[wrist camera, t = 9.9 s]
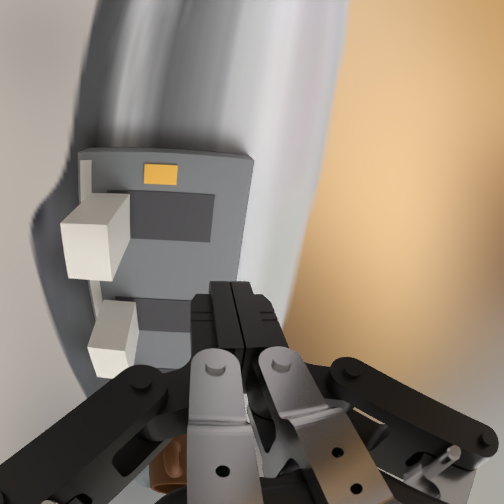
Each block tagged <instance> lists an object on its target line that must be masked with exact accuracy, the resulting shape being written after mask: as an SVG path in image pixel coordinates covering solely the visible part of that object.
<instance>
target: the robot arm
mask: <svg viewBox="0 0 504 504" xmlns="http://www.w3.org/2000/svg"><path fill="white" fill-rule="evenodd" d="M190 342H191V358H190V360H189V361H188V363H187V364H186V365H185V366H183V367H182V368H180V369H177V370H174V371H171V372H167V373H162V372H161V371H160V370H158V369H157V368H155V367H152V366H149V365H133V366H130V367H128V368H126V369H125V370H123V371H122V372H121V373H119V374H118V375H117V376H116V377H114V378H113V379H112V380H110V381H109V382H108V383H107V384H105V385H104V386H103V387H102V388H100V389H99V390H98V391H96V392H95V393H94V394H93V395H91V396H90V397H89V398H87V399H86V400H85V401H84V402H82V403H81V404H80V405H78V406H77V407H76V408H75V409H73V410H72V411H71V412H69V413H68V414H67V415H65V417H63V418H62V419H60V420H59V421H58V422H56V423H55V424H54V425H52V426H51V427H50V428H49V429H47V430H46V431H45V432H43V433H42V434H41V435H40V436H38V437H37V438H35V439H34V440H33V441H31V442H30V443H29V444H27V445H26V446H25V447H24V448H22V449H21V450H20V451H18V452H17V453H16V454H14V455H13V456H12V457H10V458H9V459H8V460H6V461H5V462H4V463H2V464H1V465H0V504H108V503H109V502H110V501H111V500H112V499H113V498H114V497H115V496H117V495H118V494H119V493H120V492H121V491H122V490H123V489H124V488H125V487H126V486H127V485H128V484H129V483H130V482H131V481H132V480H133V479H134V478H135V477H136V476H137V475H138V474H139V473H140V472H141V471H142V470H143V469H144V468H145V467H146V466H147V465H148V464H149V463H150V462H151V461H152V460H153V459H154V458H155V457H156V456H157V455H158V454H159V453H160V452H161V451H162V450H163V449H164V448H165V447H166V445H167V444H168V443H169V442H170V441H171V440H172V438H174V437H177V436H181V435H184V434H187V486H184V487H181V488H178V489H176V490H174V491H172V492H170V493H168V494H166V495H165V496H163V497H162V498H161V499H160V500H158V501H157V502H156V503H155V504H467V501H468V498H469V494H470V491H471V488H472V484H473V481H474V477H475V473H476V470H477V468H478V467H479V466H481V465H482V464H483V463H485V462H486V461H487V460H488V459H490V458H491V457H492V456H493V455H494V454H495V453H496V452H497V450H498V445H499V442H498V437H497V435H496V433H495V432H494V430H493V429H492V428H490V427H489V426H487V425H485V424H483V423H481V422H479V421H477V420H474V419H472V418H470V417H468V416H466V415H464V414H462V413H460V412H457V411H456V410H454V409H452V408H449V407H447V406H446V405H443V404H442V403H440V402H437V401H435V400H434V399H431V398H430V397H427V396H426V395H423V394H422V393H420V392H418V391H416V390H414V389H412V388H410V387H408V386H406V385H404V384H402V383H400V382H398V381H397V380H395V379H393V378H391V377H389V376H387V375H386V374H383V373H382V372H380V371H378V370H376V369H374V368H373V367H371V366H368V365H367V364H365V363H363V362H362V361H360V360H357V359H355V358H351V357H342V358H338V359H336V360H335V361H334V362H333V363H332V365H331V367H326V366H318V365H313V364H308V363H305V362H304V361H303V359H302V358H301V356H300V355H299V354H298V353H297V352H295V351H294V350H292V349H289V347H288V344H287V342H286V339H285V337H284V334H283V332H282V329H281V327H280V324H279V322H278V321H277V317H276V314H275V313H274V309H273V307H272V304H271V302H270V301H269V300H268V299H267V298H266V297H265V296H263V295H262V294H253V291H252V288H251V285H250V282H245V281H230V282H229V281H210V282H209V293H208V294H195V296H194V297H193V299H192V300H191V306H190ZM245 393H247V397H248V401H249V402H248V406H247V414H248V417H249V420H250V423H251V424H250V423H248V422H247V419H246V412H245V404H244V395H243V394H245ZM354 407H356V408H357V409H359V410H361V411H363V412H365V413H367V414H368V415H370V416H372V417H373V418H375V419H377V420H379V421H381V422H383V423H385V424H379V423H376V422H375V421H373V420H371V419H369V418H367V417H365V416H364V415H362V414H360V413H358V412H357V411H355V410H353V408H354ZM252 429H253V430H252ZM253 432H254V435H255V439H256V441H257V444H258V447H259V450H260V453H261V457H262V470H263V475H264V477H259V472H258V464H257V457H256V450H255V444H254V436H253ZM377 467H379V468H380V469H383V470H385V471H386V472H389V473H391V474H393V475H395V476H397V477H399V478H401V479H403V480H404V481H403V482H401V481H400V480H398V479H396V478H394V477H392V476H390V475H388V474H386V473H385V472H383V471H380V470H379V469H378V468H377Z"/></svg>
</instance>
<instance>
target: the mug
mask: <svg viewBox="0 0 504 504" xmlns="http://www.w3.org/2000/svg"><path fill="white" fill-rule="evenodd" d="M149 478H150V486H151V488H152V490H154V491H156V492H159V493H163V494H168V493H170V492H172V491H174V490H176V489H178V488H181V487H184V486H187V434H184V435H181V436H177V437H174V438H172V440H171V441H170V442H169V443H168V444H167V445H166V447H165V448H164V449H163V450H162V451H161V452H160V453H159V454H158V455H157V456H156V457H155V458H154V459H153V460H152V461H151V462H150V463H149Z"/></svg>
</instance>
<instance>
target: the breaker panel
mask: <svg viewBox="0 0 504 504" xmlns="http://www.w3.org/2000/svg"><path fill="white" fill-rule="evenodd" d="M253 165H254V160H253V159H252V158H251V157H250V156H249V155H241V154H231V153H221V152H210V151H198V150H183V149H164V148H130V147H101V148H87V149H85V150H82V151H80V152H78V196H79V205H80V204H81V203H82V202H83V201H84V200H85V199H86V198H87V197H88V196H90V195H91V194H92V193H119V194H130V241H129V243H128V245H127V248H126V250H125V252H124V255H123V257H122V259H121V261H120V264H119V266H118V269H117V271H116V273H115V276H114V278H113V281H98V280H88V286H89V291H90V297H91V302H92V307H93V312H94V316H95V321H96V320H97V317H98V314H99V311H100V308H101V306H102V303H103V301H104V300H114V301H127V302H136V311H137V320H138V328H139V335H138V341H137V347H136V354H135V360H134V365H149V366H152V367H155V368H157V369H158V370H160V371H161V372H162V373H167V372H171V371H174V370H177V369H180V368H182V367H183V366H185V365H186V364H187V363H188V361H189V360H190V358H191V342H190V306H191V300H192V299H193V297H194V296H195V294H208V293H209V282H210V281H229V282H230V281H236V279H237V272H238V265H239V258H240V251H241V244H242V238H243V231H244V224H245V218H246V211H247V204H248V198H249V191H250V185H251V178H252V172H253Z"/></svg>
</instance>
